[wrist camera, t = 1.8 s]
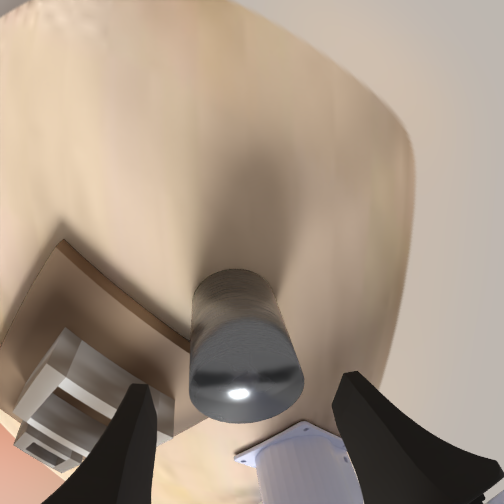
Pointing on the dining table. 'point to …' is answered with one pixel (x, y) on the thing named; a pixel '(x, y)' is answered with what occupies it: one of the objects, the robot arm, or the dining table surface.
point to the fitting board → (87, 362)
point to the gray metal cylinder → (240, 350)
